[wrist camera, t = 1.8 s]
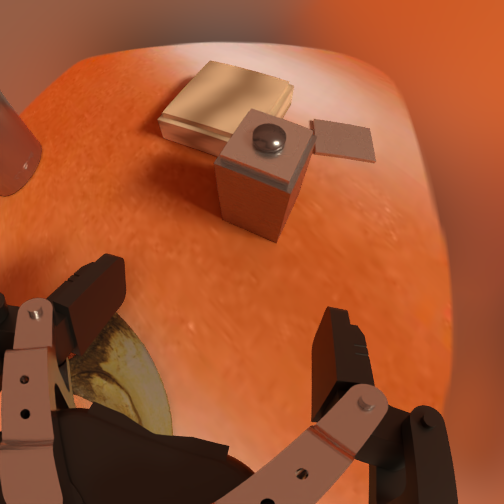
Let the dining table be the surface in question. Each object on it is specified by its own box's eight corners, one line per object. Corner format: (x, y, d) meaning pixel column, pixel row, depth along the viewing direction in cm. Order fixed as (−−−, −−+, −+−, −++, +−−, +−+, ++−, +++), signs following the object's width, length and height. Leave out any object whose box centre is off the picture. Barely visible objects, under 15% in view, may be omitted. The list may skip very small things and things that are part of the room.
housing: (222, 219, 28) (211, 151, 18) (247, 174, 30) (248, 98, 20) (276, 243, 28) (293, 182, 17) (298, 195, 29) (321, 124, 19)
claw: (61, 317, 25) (43, 313, 22) (154, 303, 26) (142, 298, 23) (104, 497, 19) (92, 510, 16) (199, 499, 20) (194, 516, 17)
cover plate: (313, 157, 31) (315, 151, 30) (312, 124, 33) (313, 119, 32) (372, 166, 31) (375, 161, 30) (367, 133, 33) (369, 128, 32)
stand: (163, 138, 31) (155, 114, 27) (211, 80, 34) (208, 57, 30) (252, 169, 30) (253, 146, 26) (290, 104, 33) (294, 80, 29)
